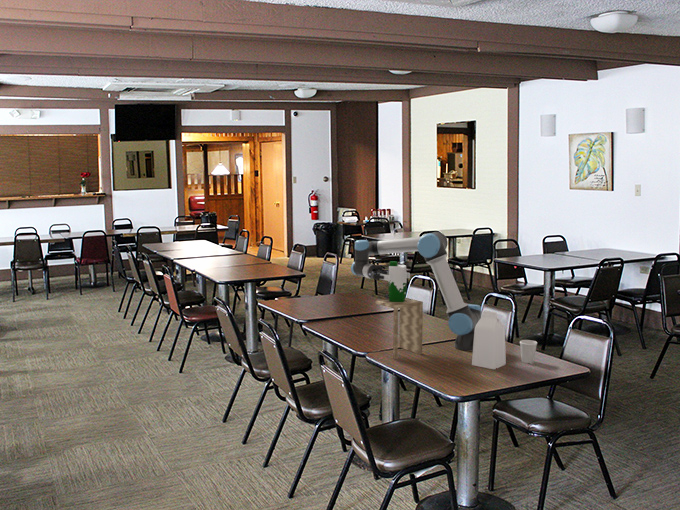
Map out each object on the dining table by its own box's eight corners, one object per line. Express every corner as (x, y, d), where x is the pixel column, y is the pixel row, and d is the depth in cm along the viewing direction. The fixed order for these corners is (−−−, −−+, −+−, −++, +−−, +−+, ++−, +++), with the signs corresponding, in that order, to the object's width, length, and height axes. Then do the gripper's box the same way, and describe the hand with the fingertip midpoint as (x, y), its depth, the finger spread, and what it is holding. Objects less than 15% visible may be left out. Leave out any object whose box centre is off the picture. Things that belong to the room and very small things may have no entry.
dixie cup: (523, 364, 338) (523, 344, 336) (516, 359, 346) (516, 340, 344) (539, 363, 339) (540, 343, 338) (532, 359, 347) (532, 339, 346)
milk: (471, 364, 337) (473, 312, 334) (483, 359, 346) (485, 308, 343) (494, 369, 330) (495, 315, 326) (505, 364, 338) (507, 311, 335)
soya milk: (389, 298, 360) (390, 260, 357) (407, 299, 358) (407, 260, 355) (387, 302, 351) (387, 262, 349) (405, 302, 349) (405, 263, 347)
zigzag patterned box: (375, 352, 360) (375, 300, 356) (401, 347, 370) (402, 296, 367) (395, 359, 347) (395, 305, 344) (422, 353, 357) (422, 301, 354)
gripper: (391, 276, 376) (417, 281, 359) (353, 281, 361) (379, 286, 344) (391, 262, 375) (417, 267, 358) (354, 266, 360) (380, 271, 343)
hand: (399, 277), depth 351 cm, fingers open, 13 cm apart
